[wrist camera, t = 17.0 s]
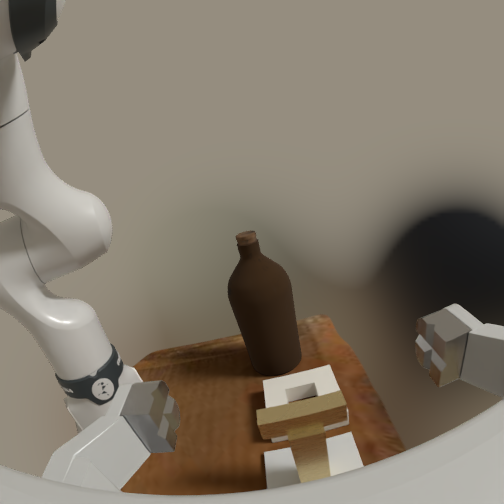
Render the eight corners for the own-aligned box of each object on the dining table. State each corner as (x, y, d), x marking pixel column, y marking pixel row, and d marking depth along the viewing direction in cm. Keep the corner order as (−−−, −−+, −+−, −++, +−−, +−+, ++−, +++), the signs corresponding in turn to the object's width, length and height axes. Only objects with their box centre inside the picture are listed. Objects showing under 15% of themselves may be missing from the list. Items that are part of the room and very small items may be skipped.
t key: (284, 495, 27) (257, 430, 23) (281, 474, 31) (256, 404, 26) (350, 479, 27) (348, 409, 23) (344, 459, 30) (338, 385, 26)
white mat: (271, 527, 23) (270, 525, 23) (265, 454, 35) (264, 452, 35) (375, 502, 23) (375, 501, 23) (351, 434, 35) (350, 431, 34)
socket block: (272, 442, 37) (268, 430, 36) (266, 393, 47) (263, 380, 46) (348, 424, 36) (348, 411, 35) (331, 377, 47) (329, 364, 46)
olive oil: (287, 384, 48) (253, 245, 41) (238, 371, 55) (198, 246, 47) (314, 347, 56) (290, 221, 49) (269, 340, 63) (239, 225, 55)
